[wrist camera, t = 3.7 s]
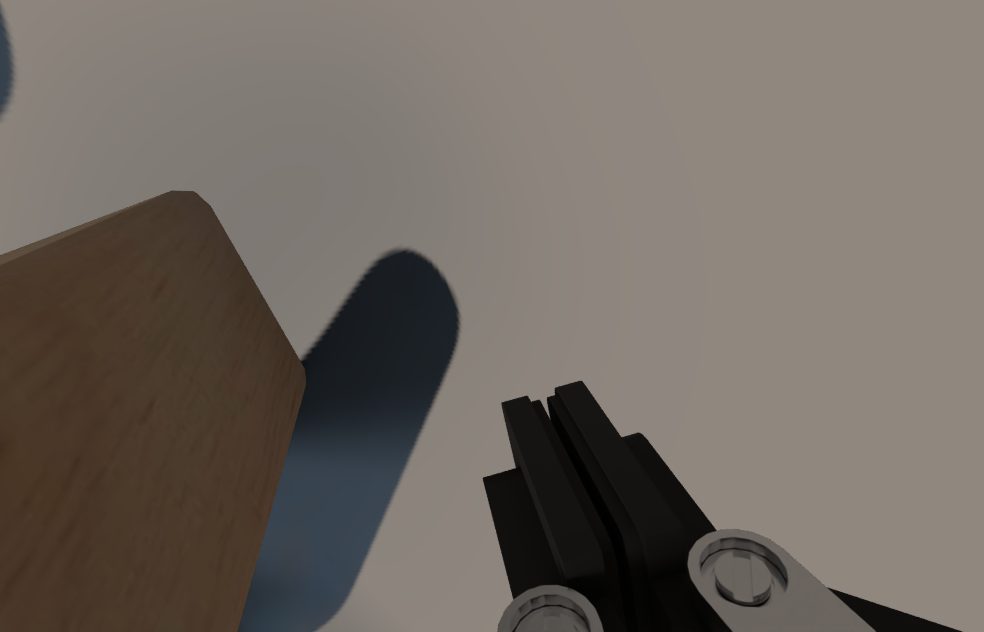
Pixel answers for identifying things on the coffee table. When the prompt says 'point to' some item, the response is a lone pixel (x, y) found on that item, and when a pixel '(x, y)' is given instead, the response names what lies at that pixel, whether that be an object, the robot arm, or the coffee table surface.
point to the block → (137, 424)
